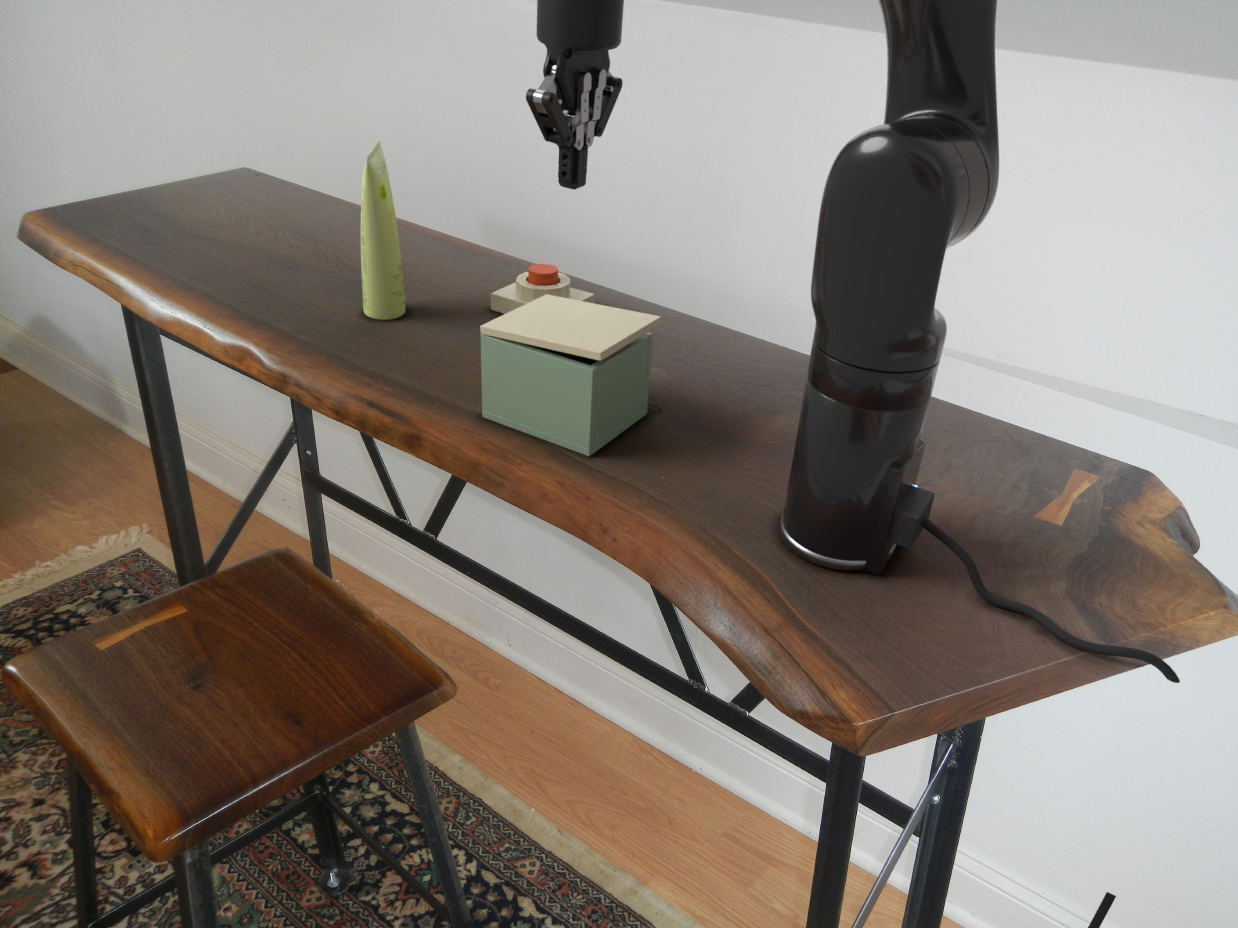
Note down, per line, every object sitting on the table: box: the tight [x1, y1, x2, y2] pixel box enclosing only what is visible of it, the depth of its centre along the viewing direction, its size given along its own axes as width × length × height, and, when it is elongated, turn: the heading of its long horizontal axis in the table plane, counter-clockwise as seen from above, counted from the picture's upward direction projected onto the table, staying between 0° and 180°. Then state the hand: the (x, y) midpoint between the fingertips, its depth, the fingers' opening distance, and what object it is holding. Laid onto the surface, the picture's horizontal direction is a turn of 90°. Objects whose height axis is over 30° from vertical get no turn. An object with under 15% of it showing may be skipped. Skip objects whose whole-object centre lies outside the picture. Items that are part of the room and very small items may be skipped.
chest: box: [480, 331, 654, 457], centre depth 93 cm, size 13×11×9 cm
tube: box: [360, 139, 406, 321], centre depth 110 cm, size 6×5×20 cm
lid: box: [479, 294, 662, 361], centre depth 90 cm, size 13×11×1 cm
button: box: [527, 263, 559, 286], centre depth 116 cm, size 4×4×2 cm
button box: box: [490, 271, 596, 315], centre depth 117 cm, size 10×8×4 cm
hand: (572, 186), depth 91 cm, fingers closed
